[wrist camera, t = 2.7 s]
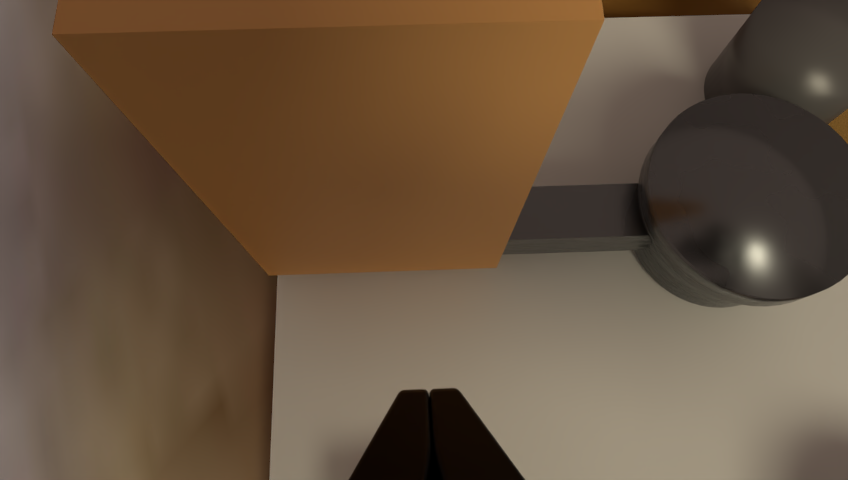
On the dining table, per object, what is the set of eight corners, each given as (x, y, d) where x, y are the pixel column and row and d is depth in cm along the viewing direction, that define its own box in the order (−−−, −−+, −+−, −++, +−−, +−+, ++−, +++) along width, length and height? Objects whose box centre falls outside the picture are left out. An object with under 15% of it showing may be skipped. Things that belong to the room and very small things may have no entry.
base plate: (993, 862, 14) (1226, 1033, 10) (264, 900, 13) (200, 1090, 10) (778, 36, 21) (864, -61, 17) (295, 49, 20) (264, -46, 16)
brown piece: (779, 143, 18) (1224, -229, 8) (822, 319, 16) (1446, 126, 6) (277, 158, 18) (96, -206, 8) (269, 338, 16) (27, 169, 6)
